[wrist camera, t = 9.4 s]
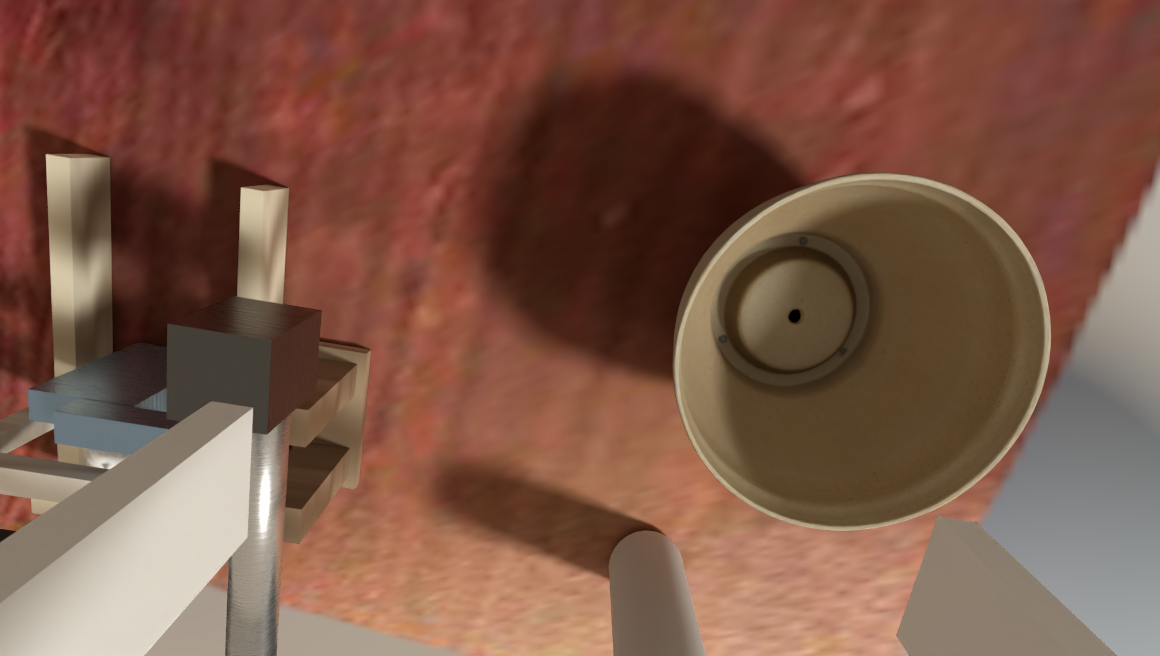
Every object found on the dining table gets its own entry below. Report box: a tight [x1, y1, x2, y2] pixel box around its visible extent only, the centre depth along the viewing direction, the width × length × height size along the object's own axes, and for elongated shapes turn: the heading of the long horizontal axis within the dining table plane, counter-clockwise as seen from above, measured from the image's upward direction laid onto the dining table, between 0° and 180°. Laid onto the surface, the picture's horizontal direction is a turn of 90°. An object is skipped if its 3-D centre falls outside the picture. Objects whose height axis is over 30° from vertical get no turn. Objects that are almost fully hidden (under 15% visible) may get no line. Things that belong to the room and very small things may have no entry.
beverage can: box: [609, 531, 706, 656], centre depth 37 cm, size 5×5×12 cm
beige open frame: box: [0, 154, 289, 514], centre depth 35 cm, size 20×13×10 cm, turn 170°
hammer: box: [28, 296, 322, 656], centre depth 34 cm, size 21×14×13 cm, turn 170°
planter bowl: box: [673, 173, 1051, 531], centre depth 34 cm, size 16×16×11 cm
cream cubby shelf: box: [283, 341, 371, 544], centre depth 37 cm, size 9×4×8 cm, turn 170°
